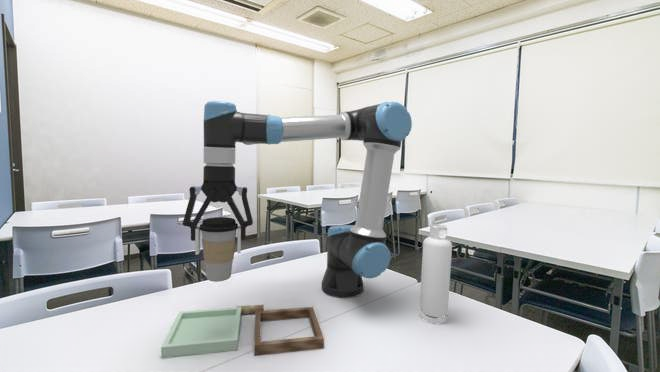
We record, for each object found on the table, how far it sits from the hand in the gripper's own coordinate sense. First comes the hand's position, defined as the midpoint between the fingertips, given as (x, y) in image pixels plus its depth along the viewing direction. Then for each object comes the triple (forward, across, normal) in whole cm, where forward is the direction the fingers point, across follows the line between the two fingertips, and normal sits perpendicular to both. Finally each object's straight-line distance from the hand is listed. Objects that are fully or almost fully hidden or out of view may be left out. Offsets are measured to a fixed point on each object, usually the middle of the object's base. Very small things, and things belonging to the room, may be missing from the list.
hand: (218, 252), depth 82 cm
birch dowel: (+21, -8, -12) cm, 25 cm away
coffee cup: (+7, 0, 0) cm, 7 cm away
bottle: (+21, -62, +2) cm, 66 cm away
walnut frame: (+22, -18, +2) cm, 28 cm away
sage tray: (+22, +3, -1) cm, 23 cm away
